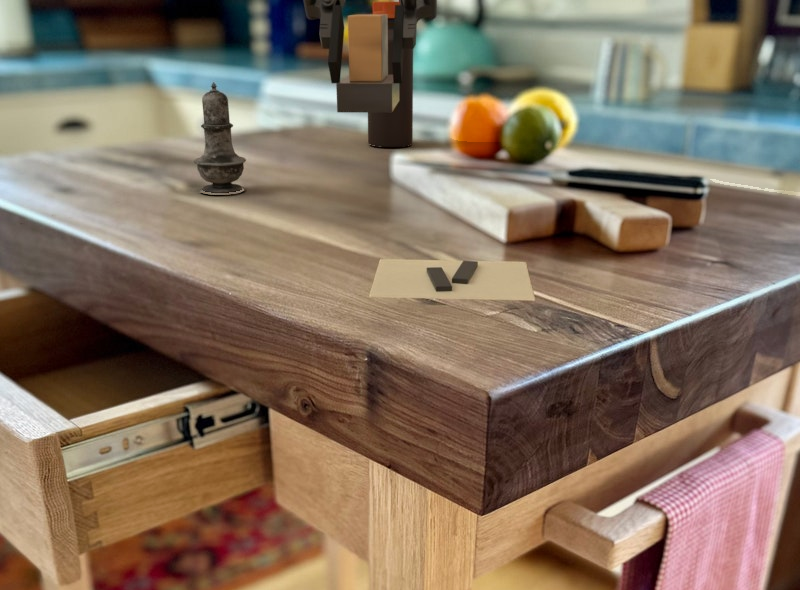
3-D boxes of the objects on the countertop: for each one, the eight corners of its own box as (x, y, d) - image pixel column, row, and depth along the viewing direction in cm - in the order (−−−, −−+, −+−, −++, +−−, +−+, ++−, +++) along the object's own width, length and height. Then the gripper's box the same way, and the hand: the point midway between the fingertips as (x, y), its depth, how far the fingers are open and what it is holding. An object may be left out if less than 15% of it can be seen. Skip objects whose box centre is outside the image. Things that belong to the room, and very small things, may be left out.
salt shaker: (223, 184, 105) (214, 79, 100) (258, 190, 102) (251, 81, 97) (186, 192, 101) (175, 82, 96) (222, 198, 98) (212, 85, 93)
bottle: (411, 149, 130) (412, 1, 122) (366, 148, 130) (363, 1, 122) (413, 142, 136) (414, 1, 128) (370, 141, 136) (368, 1, 128)
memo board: (525, 273, 72) (526, 261, 71) (534, 313, 63) (535, 300, 62) (380, 270, 72) (379, 258, 72) (368, 309, 63) (368, 296, 63)
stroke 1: (426, 272, 68) (426, 267, 68) (441, 271, 68) (441, 267, 68) (436, 291, 64) (436, 286, 64) (452, 291, 64) (452, 286, 64)
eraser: (349, 100, 88) (347, 14, 84) (399, 101, 88) (399, 13, 84) (337, 112, 79) (333, 15, 75) (392, 112, 78) (391, 15, 75)
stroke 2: (463, 265, 70) (463, 260, 70) (477, 266, 70) (478, 261, 70) (451, 283, 66) (451, 278, 66) (467, 284, 65) (467, 279, 65)
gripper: (468, -85, 89) (464, 101, 81) (294, -83, 90) (274, 100, 82) (470, -154, 82) (466, 42, 74) (282, -151, 83) (258, 42, 75)
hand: (365, 72), depth 78 cm, fingers closed on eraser, 5 cm apart
